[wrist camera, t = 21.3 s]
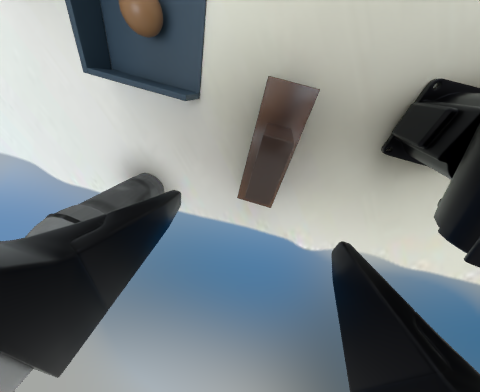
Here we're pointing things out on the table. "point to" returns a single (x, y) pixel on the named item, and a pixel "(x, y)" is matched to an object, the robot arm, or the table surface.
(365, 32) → the table surface
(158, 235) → the robot arm
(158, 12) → the brown rounded piece
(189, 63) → the dustpan
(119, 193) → the beverage cup
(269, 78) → the brush
